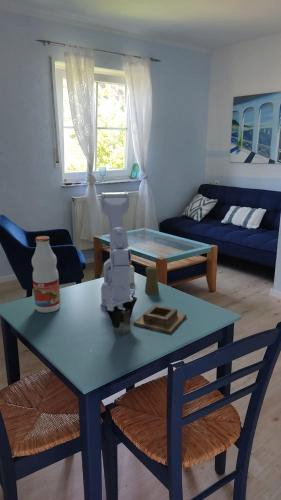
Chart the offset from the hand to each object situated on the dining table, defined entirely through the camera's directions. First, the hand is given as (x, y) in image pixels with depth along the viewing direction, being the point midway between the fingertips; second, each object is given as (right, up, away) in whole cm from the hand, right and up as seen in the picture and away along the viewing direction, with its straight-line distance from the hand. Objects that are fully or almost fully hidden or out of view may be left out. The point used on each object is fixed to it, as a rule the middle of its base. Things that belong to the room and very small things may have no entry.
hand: (122, 322), depth 126 cm
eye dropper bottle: (+1, +9, +44) cm, 45 cm away
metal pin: (0, -3, +1) cm, 3 cm away
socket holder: (+13, -1, +8) cm, 16 cm away
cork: (+11, +6, +35) cm, 37 cm away
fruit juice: (-29, +2, +20) cm, 35 cm away
